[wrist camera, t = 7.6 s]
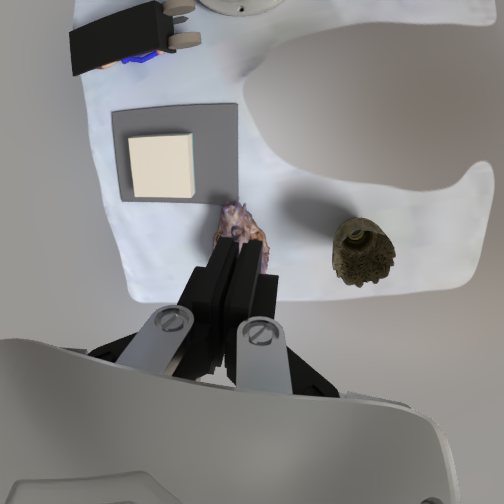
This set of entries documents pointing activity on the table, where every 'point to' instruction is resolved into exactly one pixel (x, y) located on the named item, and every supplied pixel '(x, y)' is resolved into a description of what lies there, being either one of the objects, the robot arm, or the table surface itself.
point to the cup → (362, 252)
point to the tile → (163, 165)
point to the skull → (241, 229)
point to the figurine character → (131, 35)
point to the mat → (204, 148)
